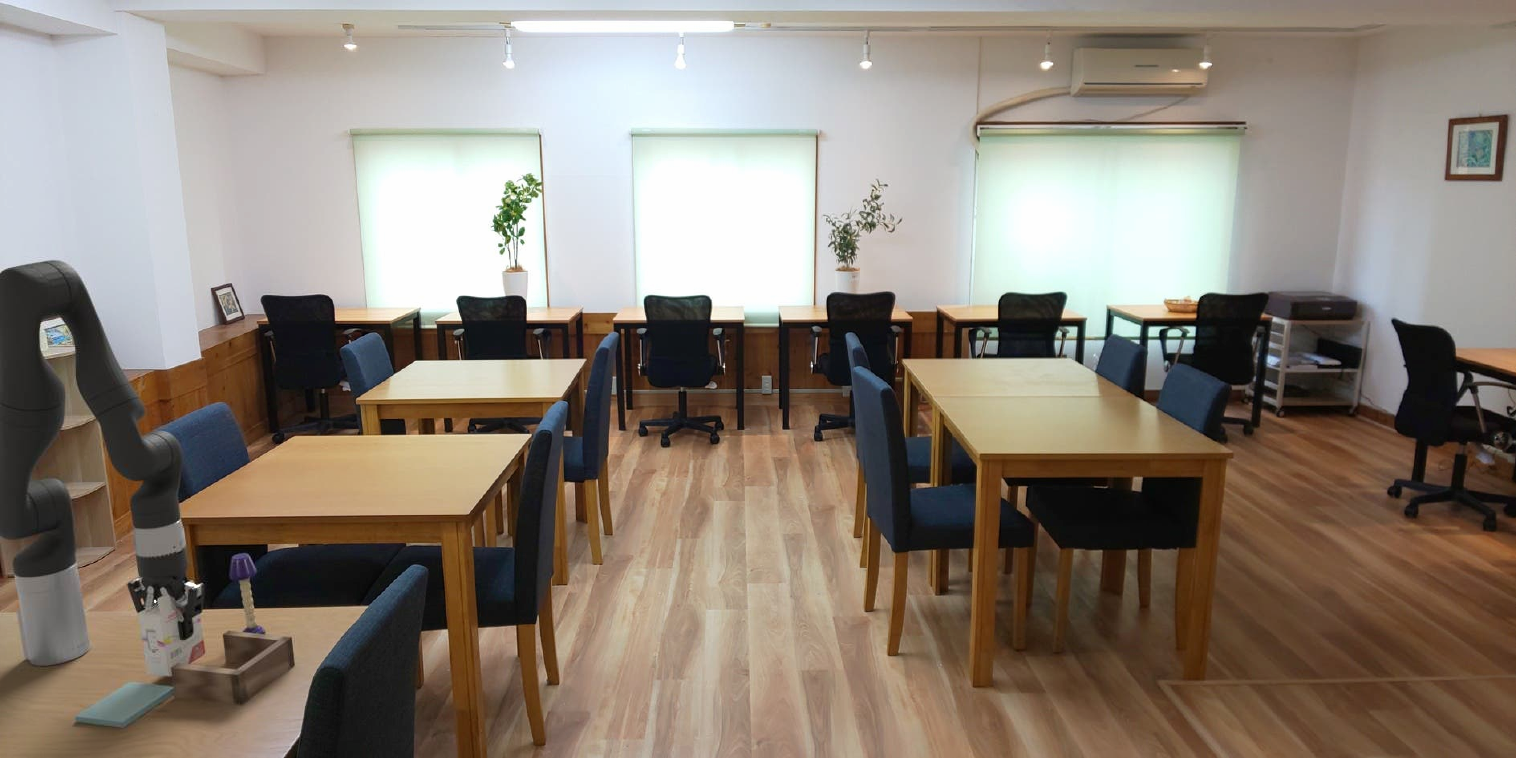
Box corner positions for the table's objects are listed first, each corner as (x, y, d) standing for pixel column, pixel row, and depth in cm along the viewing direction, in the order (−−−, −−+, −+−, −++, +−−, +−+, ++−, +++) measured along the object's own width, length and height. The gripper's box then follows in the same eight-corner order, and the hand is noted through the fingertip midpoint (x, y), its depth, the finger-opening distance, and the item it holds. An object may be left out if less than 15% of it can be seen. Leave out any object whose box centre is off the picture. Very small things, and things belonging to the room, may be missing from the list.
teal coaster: (75, 721, 157) (75, 716, 157) (131, 687, 168) (130, 681, 168) (123, 727, 156) (122, 722, 155) (175, 692, 166) (175, 687, 166)
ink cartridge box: (183, 651, 177) (172, 576, 173) (206, 654, 176) (196, 578, 172) (145, 674, 168) (133, 596, 165) (169, 677, 167) (158, 599, 164)
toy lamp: (248, 644, 183) (238, 561, 179) (231, 639, 185) (221, 557, 181) (270, 633, 187) (260, 552, 184) (253, 628, 189) (244, 548, 186)
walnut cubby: (174, 696, 165) (170, 667, 164) (232, 658, 178) (228, 630, 177) (241, 704, 162) (238, 674, 161) (294, 664, 175) (291, 637, 174)
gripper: (107, 551, 165) (120, 642, 169) (179, 558, 162) (192, 650, 166) (142, 535, 172) (154, 623, 176) (212, 541, 169) (223, 630, 173)
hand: (172, 636), depth 171 cm, fingers closed on ink cartridge box, 5 cm apart
